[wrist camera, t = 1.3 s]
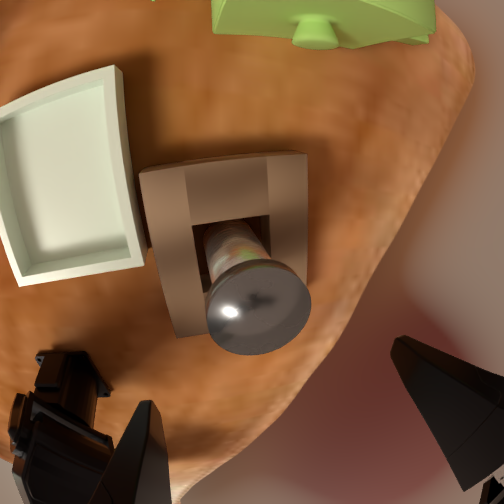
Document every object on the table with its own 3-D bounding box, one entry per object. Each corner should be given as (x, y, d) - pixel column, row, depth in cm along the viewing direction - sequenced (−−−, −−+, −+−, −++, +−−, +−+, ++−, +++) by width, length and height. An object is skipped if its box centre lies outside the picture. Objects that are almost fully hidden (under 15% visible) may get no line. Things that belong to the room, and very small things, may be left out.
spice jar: (262, 264, 22) (308, 342, 14) (200, 274, 21) (215, 363, 13) (259, 203, 20) (313, 260, 12) (190, 213, 19) (198, 280, 11)
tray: (147, 249, 19) (144, 265, 17) (31, 270, 17) (19, 286, 15) (122, 72, 14) (114, 64, 12) (-2, 117, 12) (-21, 119, 10)
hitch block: (294, 296, 24) (305, 313, 22) (176, 318, 22) (176, 338, 20) (292, 150, 19) (307, 153, 16) (144, 167, 17) (138, 173, 15)
